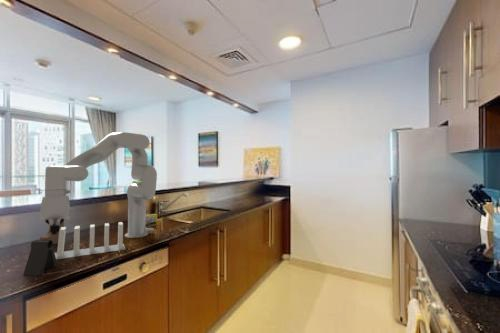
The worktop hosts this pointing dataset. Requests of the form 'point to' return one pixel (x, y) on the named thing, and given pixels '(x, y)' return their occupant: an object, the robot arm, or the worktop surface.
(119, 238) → the domino
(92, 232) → the domino
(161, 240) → the worktop surface
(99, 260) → the worktop surface
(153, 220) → the candy box
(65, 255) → the mat
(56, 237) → the wooden block
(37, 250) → the phone stand
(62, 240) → the domino
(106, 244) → the domino
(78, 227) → the domino
